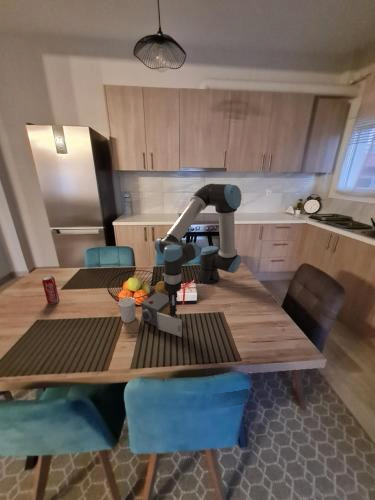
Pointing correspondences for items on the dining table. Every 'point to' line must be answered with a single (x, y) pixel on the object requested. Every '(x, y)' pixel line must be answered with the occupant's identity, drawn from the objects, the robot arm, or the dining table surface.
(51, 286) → the beverage can
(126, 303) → the white cup
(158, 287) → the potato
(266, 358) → the dining table surface
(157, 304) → the camera body
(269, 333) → the dining table surface
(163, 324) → the side door
